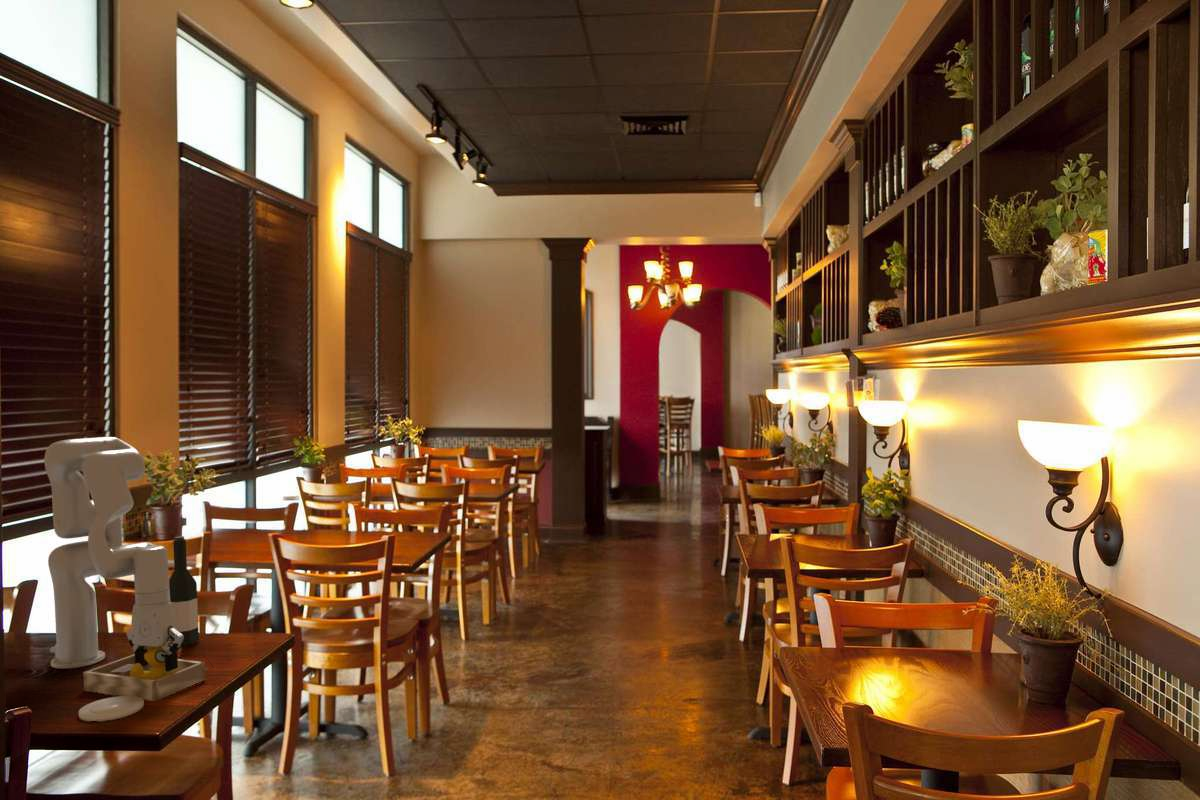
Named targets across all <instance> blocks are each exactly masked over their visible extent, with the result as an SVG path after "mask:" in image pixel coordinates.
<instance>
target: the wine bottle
mask: <svg viewBox="0 0 1200 800" xmlns="http://www.w3.org/2000/svg"><path fill="white" fill-rule="evenodd" d="M186 541H187V540H186V538H185V536H183V535H181V536H174V539H173V540H172V542H173V543H172V544H173V546H172V547H173V562H174V563H173V565H174V570H173V571H172V572H171V576H170V577H169V589H170V602H171V604H172V608H173V612H174V618H175V626H176V630H177V631H178V632H180V633H181V634H182V635H183V636H184V639H183V641H182V647H185V646H184V645H188V646H191V645H190V644H192V643H194V642H197V641H198V640H199V641H200V635H199V613H198V611H199V610H198V609H199V607H198V606H199V605H198V586H197V585H198V584H197V580H196V579H195V578H194V577H193V575H192V574H191V572H190V571H189V569H188V563H187V542H186ZM197 643H198V642H197ZM192 645H193V644H192ZM168 646H169V647H171V645H168Z"/></svg>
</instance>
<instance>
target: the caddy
mask: <svg viewBox="0 0 1200 800" xmlns="http://www.w3.org/2000/svg"><path fill="white" fill-rule="evenodd" d="M177 659H178V667H177V668H176V669H173V673H172V674H170V675H167V676H165V677H162V678H160V679H157V680H149V679H141V678H134V677H127V676H120V675H112V674H110V672H111V671H113V670H115V669H118V668H120V667H122V666H124V665H127V664H135V654H131V655H129V656H125V657H122V658H120V659H117V660H114V661H111V662H108V663H106V664H103V665H100V666H97V667H94V668H91V669H90V670H85V671H83V672H82V674H83V691H84V692H90V691H91V693H96V692H97V694H102V693H103V694H104V695H109V694H110V696H115V697H118V696H137V697H141V698H142V699H143V700H144V701H151V702H157V701H160V700H162V698H163V699H164V697H165V698H167V697H169V695H170V696H172V695H174V694H177V693H179V692H181V691H184V690H185V688H186V689H188V688H187V687H189V688H191V687H193V686H195V685H194V684H196V683H198V684H200V683H202V682H201V681H203V682H205V681H206V670H205V669H206V667H205V666H206V665H205V664H206V662H204V661H199V660H189V659H182V658H181V659H180V658H177ZM142 668H143V670H144V671H150V670H151V669H152V668H153V666H150V665H149V663H148V664H147V665H145V666H143V667H142ZM204 680H205V681H204ZM199 682H200V683H199ZM192 685H193V686H192ZM196 685H197V684H196ZM190 686H191V687H190ZM183 689H184V690H183ZM180 690H181V691H180ZM178 691H179V692H178ZM176 692H177V693H176ZM103 694H102V695H103ZM171 694H172V695H171ZM117 695H118V696H117ZM166 696H167V697H166Z"/></svg>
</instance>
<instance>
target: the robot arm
mask: <svg viewBox="0 0 1200 800" xmlns="http://www.w3.org/2000/svg"><path fill="white" fill-rule="evenodd" d="M43 460H44V468H45V472H46V474H47V477H48V479H49V482H50V486H51V499H52V501H51V502H52V504H51V505H52V521H53V529H54V533H55V534H56V536H57V537H58V538H60V539H67V540H68V539H76V538H85V537H87V540H84V541H83V540H82V541H78V542H77V541H76V542H71V543H70V542H69V543H66V544H63V545H60V546H58V547H55V548H54V549H52V551H51V552H50V553H49V555H48V557H47V558H48V561H47V562H48V563H47V565H48V569H49V573H50V577H51V581H52V587H53V599H54V600H53V601H54V617H55V620H54V621H55V639H56V643H55V645H54V646H52V647H50V648H49V653H53V654H54V655H55V657H54V658H52V659H51V660H50V666H51V667H52V668H54V669H60V670H61V669H77V668H81V667H82V668H83V667H86V666H87V667H88V666H91V665H94V664H97V663H99V662H101V661H103V660H104V659H105V658H106V652H104V651H102V650H99V638H98V637H99V636H98V617H97V616H98V615H97V614H98V613H97V597H96V592H95V590H94V588H93V587H92V585H90V584H89V583H88V582H87V580H86V578H89V577H93V576H100V577H101V578H103V579H106V580H112V579H113V580H114V579H118V578H124V577H127V576H132V575H133V577H134V578H133V582H134V583H133V584H134V599H135V603H134V604H133V607H132V613H131V628H130V629H129V630H128V631H126V633H125V635H126V637H127V638H128V643H129V645H130V646H131V650H132V652H133V653H134V654H135V664H136V663H139V664H141V666H142V667H143V666H145V665H147V664H148V662H147V661H146V660H145V658H144V654H145V653H146V652H148V648H153V647H156V648H158V647H161V646H162V647H163V649H164V650H165V652H166V653H167V654H166V655H165V670H166V671H171V670H173V669H176V668H177V667H178V659H179V658H177V652H178V651H179V648H180V647H181V646H182V641H183V639H184V636H183V635H182V634H181V633H180V632H178V631H177V630H176V626H175V618H174V612H173V608H172V604H171V602H170V589H169V579H170V577H169V575H170V574H169V573H170V572H169V557H168V556H169V554H168V549H167V548H166V547H165V546H164V545H157V544H153V543H152V542H148V541H142V542H141V541H140V542H135V543H129V544H123V537H122V535H123V534H122V533H123V532H122V516H124V515H125V514H127V513H128V512H130V511H131V510H132V508H133V507H134V504H135V501H134V499H133V496H132V493H131V491H130V488H129V486H128V482H132V481H133V482H135V481H137V480H141V479H142V478H143V476H144V475H145V473H146V465H145V464H146V463H145V460H144V458H143V455H142V454H141V453H140V451H138V450H137V449H136V448H135V447H133V446H132V445H130V444H128V443H127V442H125V441H124V440H122V439H120V438H118V437H115V436H98V437H81V438H80V437H79V438H69V439H63V440H62V439H61V440H58V441H55V442H52V443H51V444H50V445H49V446H48V447H47V449H46V450H45V454H44V459H43ZM81 472H82V473H81ZM90 497H91V499H90ZM169 645H171V646H169ZM146 647H148V648H146ZM182 647H183V646H182ZM182 647H181V648H182Z"/></svg>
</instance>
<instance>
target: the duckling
mask: <svg viewBox="0 0 1200 800" xmlns="http://www.w3.org/2000/svg"><path fill="white" fill-rule="evenodd" d="M166 654H167V653H166V652H165V650H164V649H163V647H162V646H161V647H158V648H156V647H151V648H150V649H149V650H147V652H146V653H145V654H144V658H145V660H146V661H147V662H148V663H149V665H150V666H153V668H152V669H151V670H150V671H144V670H143V668H142V666H141V664H139V663H136V664H134V665H133V666H132V668H131V670H130V676H131V677H134V678H141V679H149V680H157V679H160V678H162V677H165V676H167V675H170V674H172V673H173V670H171V671H166V670H165V655H166ZM180 655H182V647H180V648H179V651H178V652H177V659H179V657H181V656H180Z"/></svg>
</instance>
